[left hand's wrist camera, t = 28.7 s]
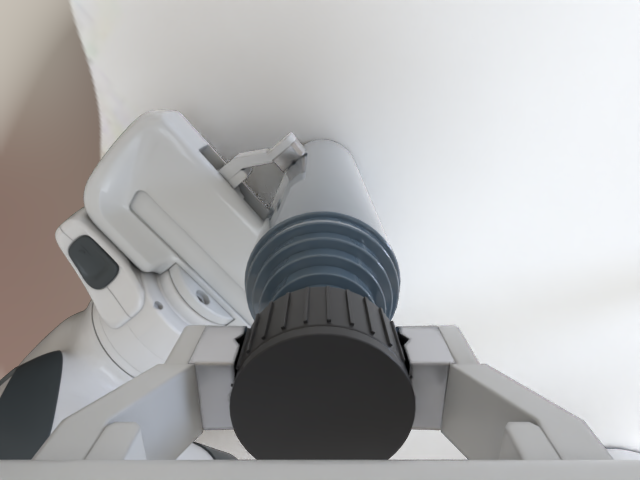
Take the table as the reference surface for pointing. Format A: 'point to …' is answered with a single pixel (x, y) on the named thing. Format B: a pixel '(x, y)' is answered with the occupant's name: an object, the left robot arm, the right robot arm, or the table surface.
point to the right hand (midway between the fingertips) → (332, 182)
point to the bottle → (322, 235)
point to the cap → (322, 380)
